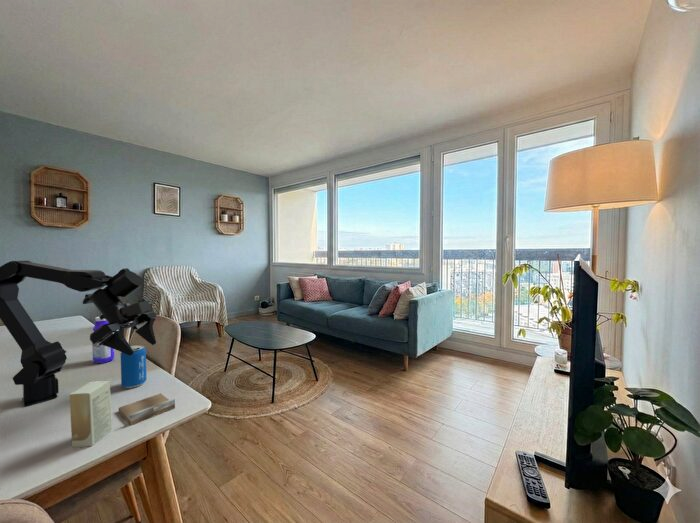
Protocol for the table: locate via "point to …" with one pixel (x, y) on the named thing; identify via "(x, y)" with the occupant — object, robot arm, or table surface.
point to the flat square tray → (146, 408)
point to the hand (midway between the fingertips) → (144, 349)
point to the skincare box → (90, 413)
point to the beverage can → (133, 367)
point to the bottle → (101, 352)
